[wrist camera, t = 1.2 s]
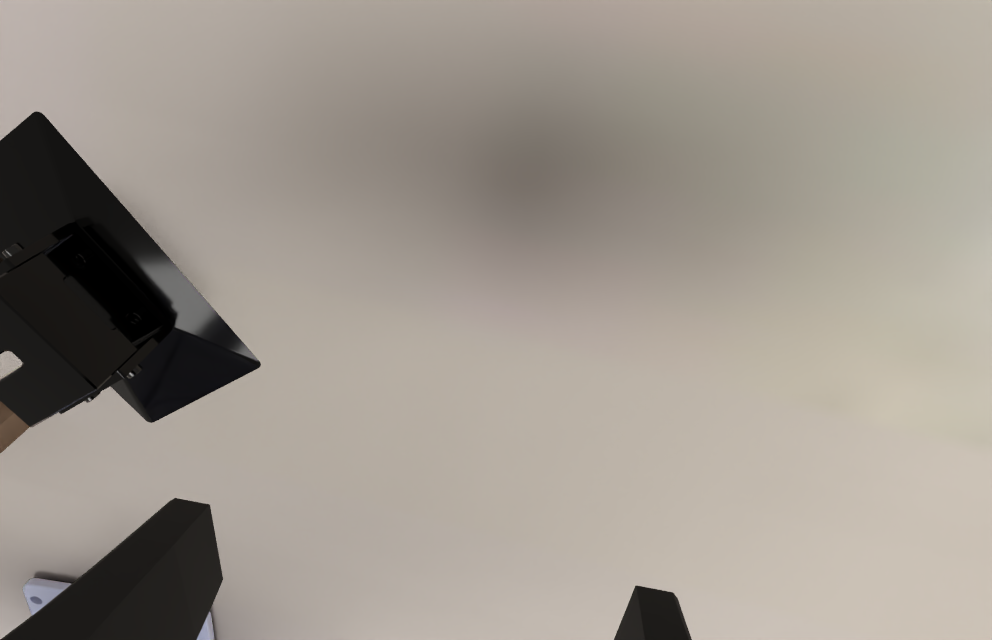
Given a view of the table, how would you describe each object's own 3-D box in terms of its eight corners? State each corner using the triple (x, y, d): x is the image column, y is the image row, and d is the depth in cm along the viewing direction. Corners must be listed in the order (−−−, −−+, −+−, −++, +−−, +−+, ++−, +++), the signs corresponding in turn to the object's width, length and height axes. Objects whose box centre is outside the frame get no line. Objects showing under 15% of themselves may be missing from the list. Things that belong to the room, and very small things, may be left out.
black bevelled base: (-113, 170, 20) (-287, 226, 16) (36, 38, 17) (-122, 63, 13) (174, 452, 24) (97, 550, 20) (322, 378, 22) (269, 472, 18)
